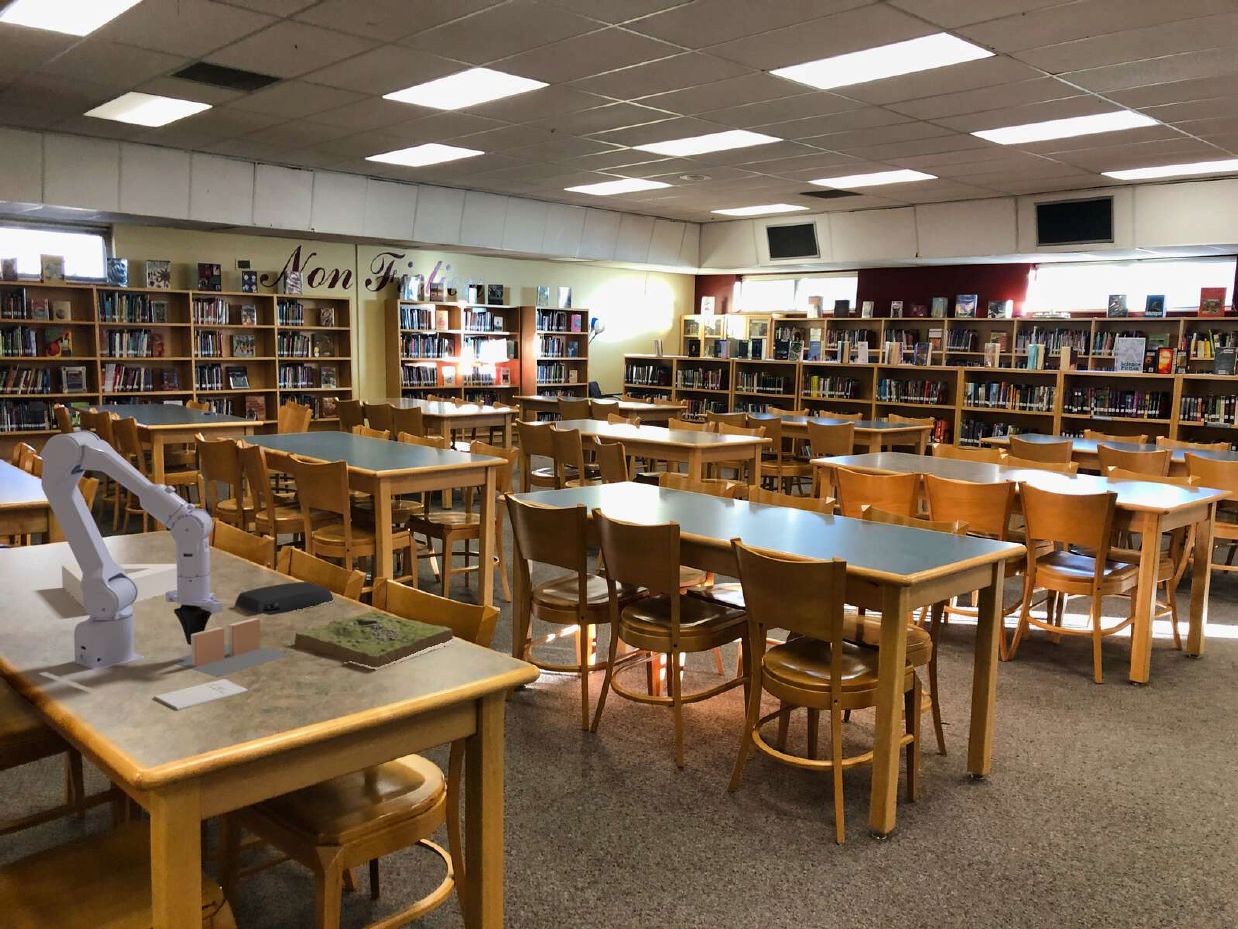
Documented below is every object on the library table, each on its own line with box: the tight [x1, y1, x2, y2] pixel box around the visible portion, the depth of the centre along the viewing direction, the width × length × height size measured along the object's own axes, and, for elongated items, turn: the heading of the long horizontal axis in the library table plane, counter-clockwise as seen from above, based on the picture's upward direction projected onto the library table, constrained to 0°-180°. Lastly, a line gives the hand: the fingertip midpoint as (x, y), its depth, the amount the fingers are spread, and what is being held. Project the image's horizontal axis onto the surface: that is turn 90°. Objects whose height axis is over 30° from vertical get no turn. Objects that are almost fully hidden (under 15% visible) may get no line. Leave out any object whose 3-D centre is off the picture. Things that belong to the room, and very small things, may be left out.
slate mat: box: [168, 643, 291, 678], centre depth 178 cm, size 16×15×1 cm
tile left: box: [190, 626, 226, 667], centre depth 174 cm, size 6×2×6 cm, turn 149°
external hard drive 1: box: [153, 678, 248, 711], centre depth 158 cm, size 2×8×12 cm
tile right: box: [228, 617, 261, 656], centre depth 181 cm, size 6×2×6 cm, turn 149°
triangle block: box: [61, 563, 177, 608], centre depth 224 cm, size 30×26×6 cm
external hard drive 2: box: [234, 581, 334, 616], centre depth 219 cm, size 13×19×4 cm
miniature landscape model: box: [294, 611, 454, 667], centre depth 190 cm, size 22×24×5 cm
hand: (194, 643), depth 177 cm, fingers closed
